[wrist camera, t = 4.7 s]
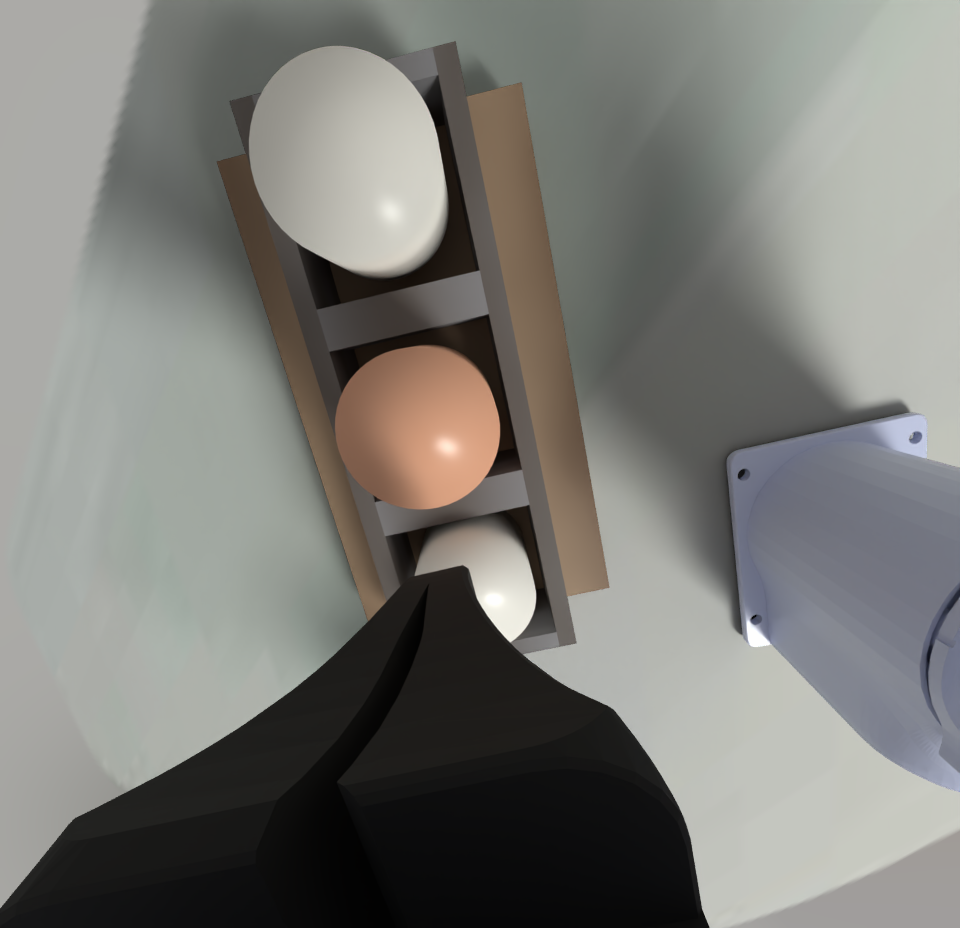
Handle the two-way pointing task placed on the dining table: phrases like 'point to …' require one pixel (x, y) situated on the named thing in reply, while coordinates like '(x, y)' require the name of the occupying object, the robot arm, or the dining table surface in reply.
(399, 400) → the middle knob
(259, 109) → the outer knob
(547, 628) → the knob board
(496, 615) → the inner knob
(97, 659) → the dining table surface
